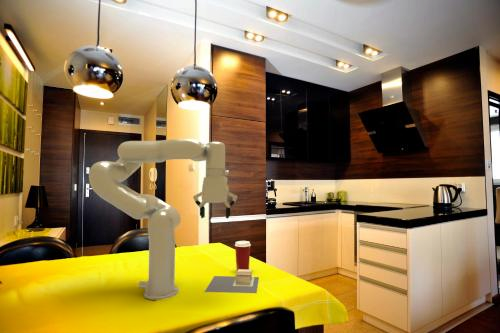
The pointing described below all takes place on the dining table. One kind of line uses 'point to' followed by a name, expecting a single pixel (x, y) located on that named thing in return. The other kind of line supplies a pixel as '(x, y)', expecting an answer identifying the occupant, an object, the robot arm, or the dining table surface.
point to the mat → (231, 285)
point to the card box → (243, 277)
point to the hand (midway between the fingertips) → (215, 217)
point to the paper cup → (242, 254)
